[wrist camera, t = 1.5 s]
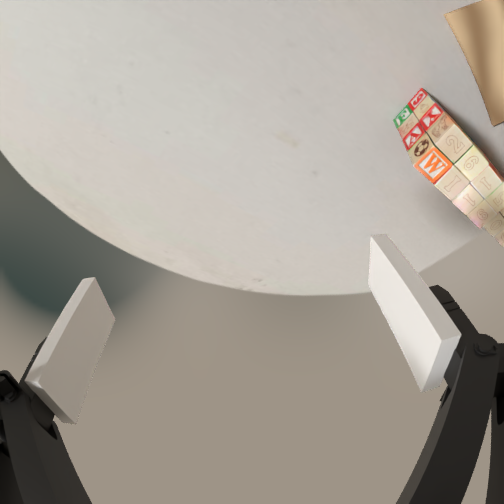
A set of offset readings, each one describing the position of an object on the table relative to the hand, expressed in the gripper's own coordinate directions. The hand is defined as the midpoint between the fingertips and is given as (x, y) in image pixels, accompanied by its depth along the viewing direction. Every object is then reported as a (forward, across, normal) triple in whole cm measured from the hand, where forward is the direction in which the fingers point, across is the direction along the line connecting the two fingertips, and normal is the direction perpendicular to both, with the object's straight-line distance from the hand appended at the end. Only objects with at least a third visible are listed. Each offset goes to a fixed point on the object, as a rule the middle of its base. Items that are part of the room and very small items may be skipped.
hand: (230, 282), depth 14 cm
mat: (+18, +38, +14) cm, 44 cm away
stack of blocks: (+24, +30, -2) cm, 39 cm away
